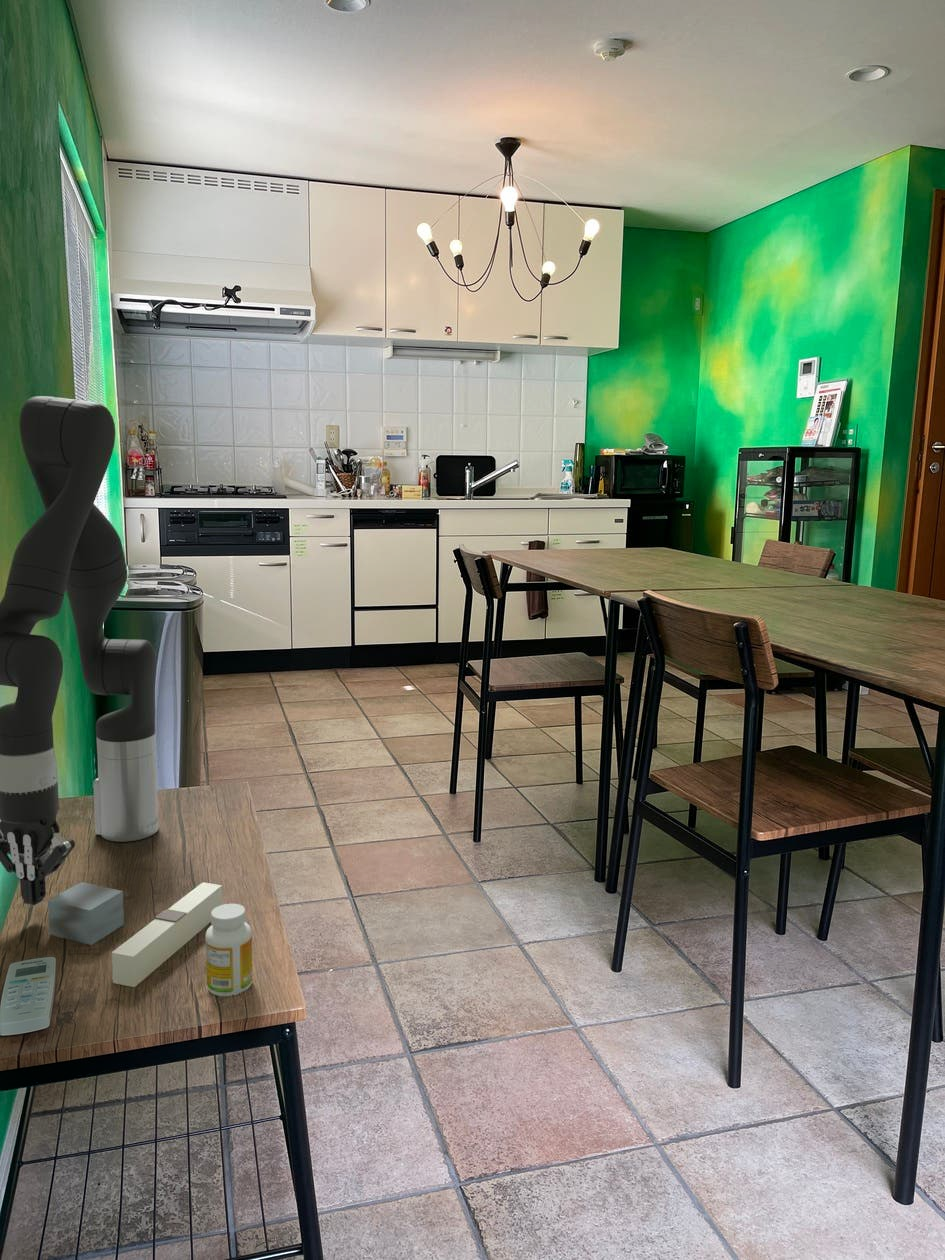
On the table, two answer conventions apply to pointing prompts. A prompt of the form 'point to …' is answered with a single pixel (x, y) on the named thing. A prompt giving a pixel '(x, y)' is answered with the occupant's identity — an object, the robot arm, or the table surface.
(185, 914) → the cream rectangular bar
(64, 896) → the block
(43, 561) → the robot arm
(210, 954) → the supplement bottle
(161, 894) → the table surface
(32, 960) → the table surface
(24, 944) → the table surface
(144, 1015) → the table surface
